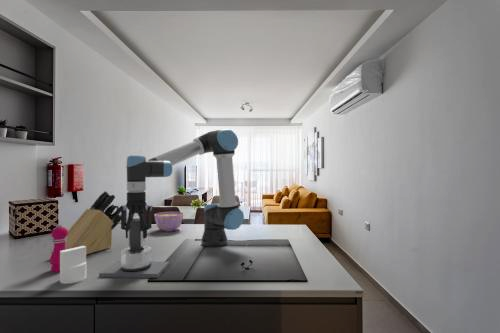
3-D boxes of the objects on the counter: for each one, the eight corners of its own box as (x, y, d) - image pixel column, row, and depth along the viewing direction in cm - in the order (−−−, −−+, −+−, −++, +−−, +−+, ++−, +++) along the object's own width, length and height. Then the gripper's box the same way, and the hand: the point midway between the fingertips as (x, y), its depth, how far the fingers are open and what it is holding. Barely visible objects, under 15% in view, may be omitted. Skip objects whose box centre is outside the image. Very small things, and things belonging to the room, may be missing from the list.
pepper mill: (56, 266, 127) (55, 222, 127) (73, 266, 128) (72, 221, 128) (45, 272, 120) (45, 225, 120) (63, 272, 120) (63, 225, 121)
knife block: (126, 243, 165) (126, 190, 165) (64, 262, 133) (64, 196, 133) (112, 241, 170) (112, 190, 170) (50, 259, 138) (49, 195, 138)
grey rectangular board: (169, 264, 129) (169, 261, 129) (157, 277, 114) (157, 274, 114) (118, 264, 130) (118, 261, 130) (99, 276, 115) (99, 273, 115)
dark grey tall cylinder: (144, 246, 125) (144, 219, 125) (139, 250, 120) (139, 221, 120) (133, 246, 125) (133, 219, 125) (128, 250, 120) (127, 221, 120)
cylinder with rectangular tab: (67, 285, 107) (67, 253, 107) (55, 280, 112) (55, 250, 112) (91, 277, 115) (91, 247, 115) (79, 273, 119) (79, 244, 119)
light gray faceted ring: (155, 262, 128) (155, 245, 128) (144, 272, 116) (144, 254, 116) (129, 262, 128) (129, 245, 128) (115, 272, 116) (115, 253, 116)
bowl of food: (148, 233, 192) (148, 215, 192) (162, 226, 212) (162, 211, 212) (176, 234, 189) (176, 216, 189) (187, 227, 209) (187, 212, 209)
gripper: (111, 192, 119) (111, 247, 119) (153, 192, 118) (153, 248, 118) (120, 190, 126) (120, 243, 126) (160, 190, 126) (160, 243, 126)
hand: (136, 245), depth 122 cm, fingers closed on dark grey tall cylinder, 5 cm apart
